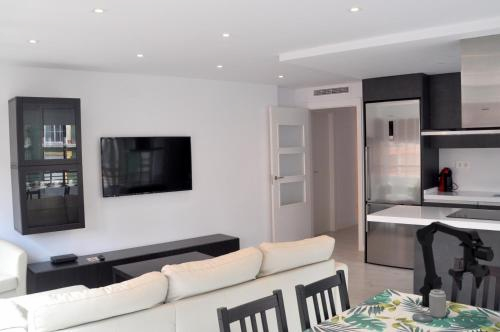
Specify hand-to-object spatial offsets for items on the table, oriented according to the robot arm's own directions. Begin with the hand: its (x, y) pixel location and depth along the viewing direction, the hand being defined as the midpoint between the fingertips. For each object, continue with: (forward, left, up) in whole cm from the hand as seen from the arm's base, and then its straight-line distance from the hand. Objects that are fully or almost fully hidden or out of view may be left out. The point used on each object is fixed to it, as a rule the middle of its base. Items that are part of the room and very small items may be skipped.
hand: (469, 289), depth 227 cm
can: (-12, -7, -14) cm, 20 cm away
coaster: (-15, -16, -14) cm, 26 cm away
